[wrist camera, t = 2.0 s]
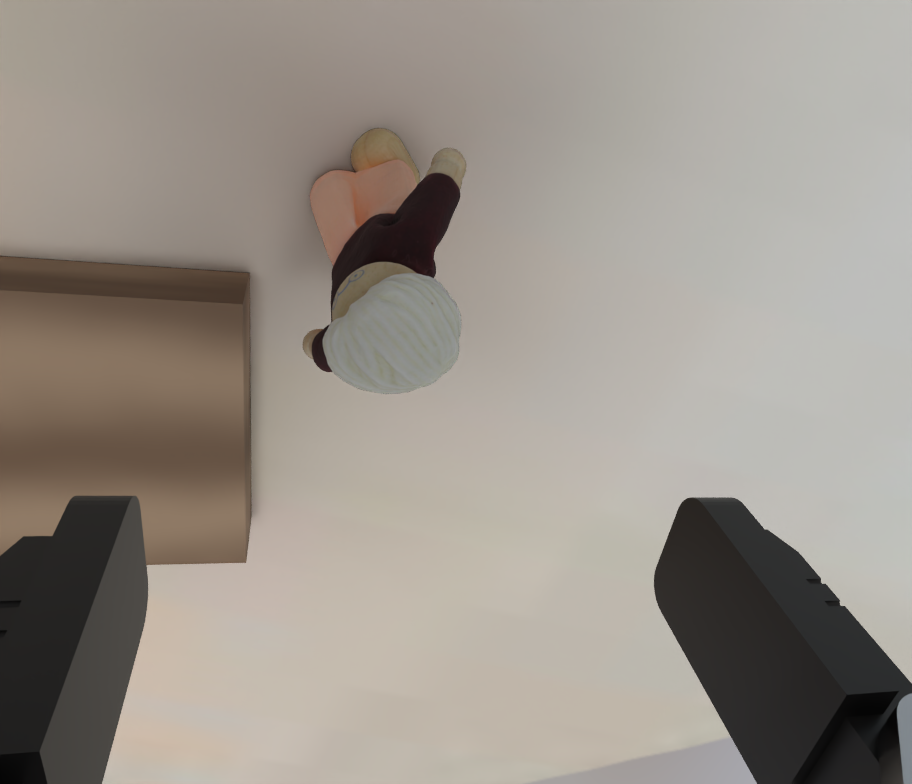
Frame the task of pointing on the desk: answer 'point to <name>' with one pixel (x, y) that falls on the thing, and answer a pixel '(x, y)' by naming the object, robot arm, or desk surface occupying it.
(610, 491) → the desk surface
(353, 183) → the grandmother figurine
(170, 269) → the walnut plinth
